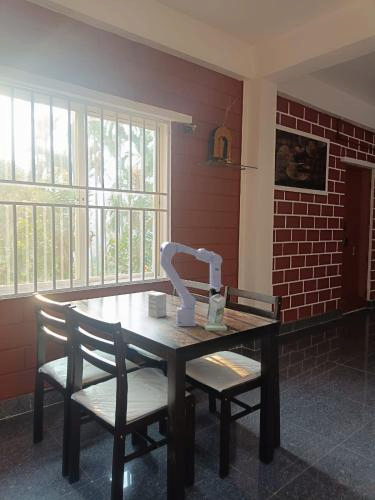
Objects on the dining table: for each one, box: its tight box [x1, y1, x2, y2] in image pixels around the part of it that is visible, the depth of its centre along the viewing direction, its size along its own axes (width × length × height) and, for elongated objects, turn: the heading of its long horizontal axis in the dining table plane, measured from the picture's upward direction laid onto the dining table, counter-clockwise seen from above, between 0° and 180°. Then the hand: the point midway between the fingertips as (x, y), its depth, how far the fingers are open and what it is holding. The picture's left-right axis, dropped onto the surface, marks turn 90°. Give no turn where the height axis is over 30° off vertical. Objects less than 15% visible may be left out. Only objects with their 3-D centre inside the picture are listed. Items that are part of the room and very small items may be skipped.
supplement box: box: [147, 291, 167, 319], centre depth 203 cm, size 7×7×13 cm
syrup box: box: [206, 293, 227, 323], centre depth 187 cm, size 6×6×14 cm
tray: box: [203, 322, 228, 332], centre depth 182 cm, size 10×9×1 cm
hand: (215, 302), depth 190 cm, fingers closed
